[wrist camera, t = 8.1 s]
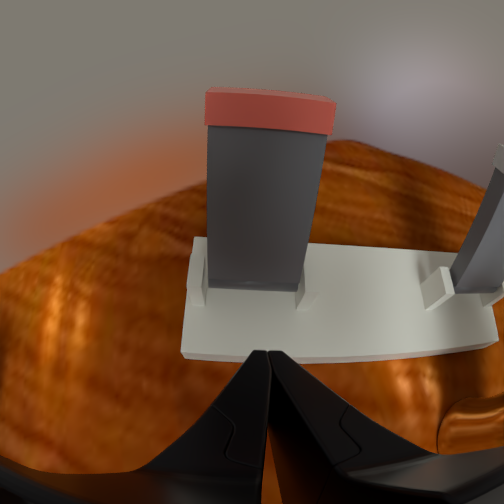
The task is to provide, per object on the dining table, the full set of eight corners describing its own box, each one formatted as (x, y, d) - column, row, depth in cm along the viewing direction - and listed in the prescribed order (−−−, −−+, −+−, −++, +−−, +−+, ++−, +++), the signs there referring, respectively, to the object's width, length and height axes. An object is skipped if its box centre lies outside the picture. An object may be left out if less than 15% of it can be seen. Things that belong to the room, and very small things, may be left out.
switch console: (484, 347, 20) (521, 328, 16) (185, 358, 19) (172, 339, 15) (465, 265, 24) (495, 237, 20) (196, 251, 23) (190, 211, 19)
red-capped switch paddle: (298, 301, 18) (336, 103, 11) (205, 297, 17) (205, 91, 11) (294, 278, 19) (325, 96, 13) (209, 273, 19) (211, 86, 13)
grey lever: (495, 300, 18) (560, 177, 12) (449, 301, 18) (519, 157, 11) (484, 282, 20) (542, 162, 13) (438, 281, 20) (498, 143, 13)
